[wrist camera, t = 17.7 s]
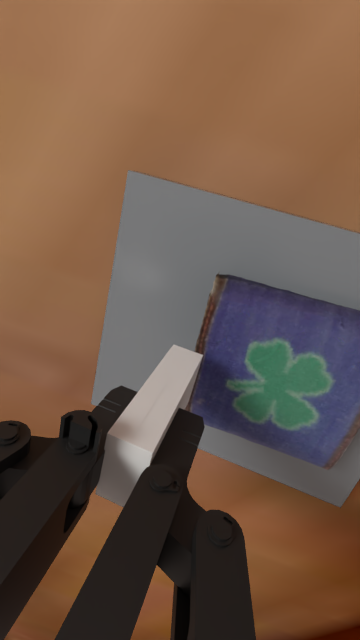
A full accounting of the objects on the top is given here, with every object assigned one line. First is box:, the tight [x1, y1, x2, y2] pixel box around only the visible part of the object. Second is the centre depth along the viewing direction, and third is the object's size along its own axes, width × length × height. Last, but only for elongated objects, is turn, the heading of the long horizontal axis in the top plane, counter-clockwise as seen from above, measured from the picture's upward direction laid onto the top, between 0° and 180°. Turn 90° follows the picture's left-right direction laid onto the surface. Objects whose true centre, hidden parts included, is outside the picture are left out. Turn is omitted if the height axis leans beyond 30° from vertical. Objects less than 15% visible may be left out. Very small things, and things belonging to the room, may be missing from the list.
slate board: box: [91, 170, 360, 508], centre depth 20 cm, size 18×16×1 cm
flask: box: [185, 271, 360, 470], centre depth 18 cm, size 9×3×11 cm
